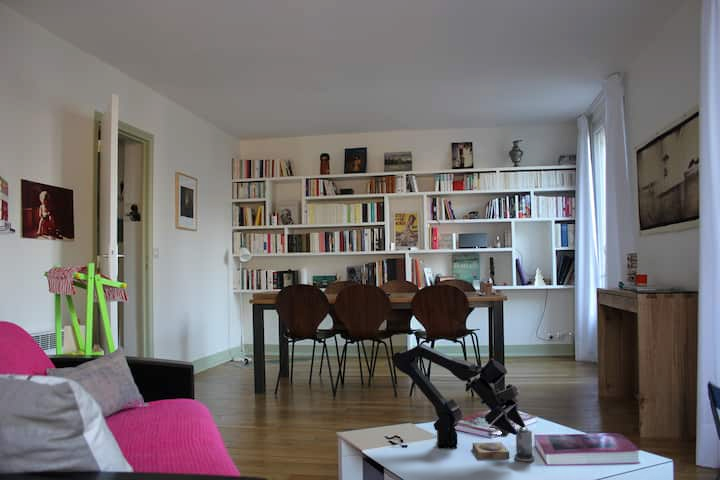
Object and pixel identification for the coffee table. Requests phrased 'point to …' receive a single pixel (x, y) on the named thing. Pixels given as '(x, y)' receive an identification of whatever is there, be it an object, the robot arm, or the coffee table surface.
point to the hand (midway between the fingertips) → (520, 430)
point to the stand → (490, 450)
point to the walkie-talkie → (501, 429)
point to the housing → (524, 445)
